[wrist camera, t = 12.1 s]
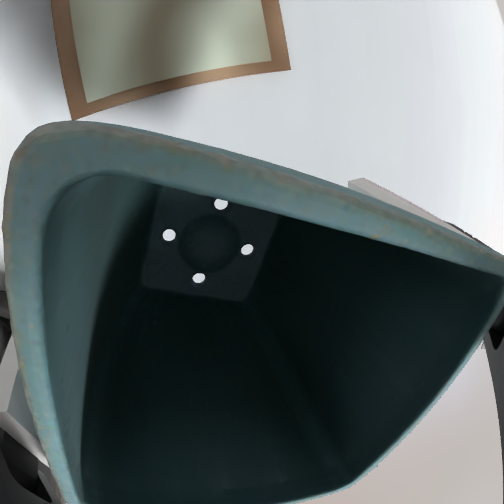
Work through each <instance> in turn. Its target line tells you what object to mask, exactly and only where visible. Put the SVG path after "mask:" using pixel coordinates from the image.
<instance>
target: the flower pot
mask: <svg viewBox="0 0 504 504" xmlns="http://www.w3.org/2000/svg"><path fill="white" fill-rule="evenodd" d="M216 199H221V200H225V201H228V205H227V207H226V208H225V209H222V210H219V209H217V208H215V205H214V202H215V200H216ZM167 229H172V230H173V231H174V232H175V233H176V236H175V239H173V240H172V241H166V240H164V238H163V232H164V231H165V230H167ZM2 232H3V241H4V262H5V287H6V293H7V299H8V306H9V313H10V325H11V330H12V336H13V339H14V344H15V349H16V354H17V360H18V366H19V371H20V374H21V379H22V382H23V386H24V393H25V396H26V400H27V403H28V406H29V409H30V412H31V414H32V417H33V422H34V425H35V428H36V431H37V435H38V437H39V440H40V444H41V447H42V448H43V452H44V454H45V456H46V459H47V462H48V465H49V468H50V470H51V473H52V475H53V477H54V479H55V482H56V484H57V486H58V489H59V492H60V494H61V496H62V498H63V500H64V501H65V502H66V503H67V504H295V503H300V502H304V501H308V500H312V499H316V498H320V497H323V496H326V495H331V494H333V493H336V492H338V491H342V490H344V489H347V488H350V487H351V486H353V485H354V484H356V483H357V482H358V481H359V480H361V479H362V478H363V477H365V475H367V474H368V473H369V472H370V471H371V470H373V469H374V468H375V467H377V466H378V464H379V463H380V462H381V461H383V460H384V459H385V458H386V457H387V456H388V455H389V454H390V453H391V451H393V450H394V449H395V448H396V447H397V446H398V445H399V444H400V442H401V441H402V440H403V439H404V438H405V437H406V436H407V435H408V434H409V433H410V432H411V431H412V430H413V429H414V428H415V427H416V425H418V424H419V422H420V421H421V420H422V419H423V418H424V417H425V416H426V415H427V413H428V412H429V411H430V410H431V409H432V407H433V406H434V405H435V404H436V403H437V402H438V400H439V399H440V398H441V396H442V395H443V394H444V393H445V391H446V390H447V389H448V388H449V386H450V385H451V384H452V382H453V381H454V380H455V378H456V377H457V376H458V374H459V373H460V371H461V370H462V369H463V368H464V366H465V365H466V363H467V362H468V361H469V359H470V358H471V356H472V355H473V353H474V352H475V351H476V349H477V348H478V346H479V345H480V343H481V342H482V340H483V339H484V337H485V335H486V334H487V332H488V331H489V329H490V328H491V326H492V325H493V323H494V322H495V320H496V318H497V316H498V315H499V313H500V312H501V310H502V308H503V307H504V255H502V254H500V253H498V252H496V251H494V250H492V249H490V248H488V247H486V246H484V245H482V244H480V243H478V242H476V241H474V240H472V239H469V238H467V237H465V236H463V235H461V234H459V233H456V232H454V231H452V230H450V229H448V228H445V227H443V226H441V225H439V224H436V223H434V222H432V221H429V220H427V219H425V218H423V217H420V216H418V215H416V214H413V213H411V212H408V211H406V210H404V209H401V208H399V207H396V206H394V205H391V204H388V203H386V202H383V201H381V200H378V199H375V198H373V197H371V196H368V195H365V194H363V193H360V192H357V191H354V190H352V189H349V188H346V187H343V186H341V185H338V184H335V183H332V182H329V181H326V180H323V179H320V178H317V177H314V176H311V175H308V174H305V173H302V172H299V171H296V170H293V169H290V168H286V167H283V166H279V165H276V164H273V163H269V162H266V161H263V160H259V159H256V158H252V157H249V156H245V155H242V154H238V153H234V152H231V151H227V150H224V149H220V148H216V147H212V146H208V145H204V144H200V143H196V142H192V141H188V140H184V139H180V138H176V137H172V136H168V135H164V134H159V133H155V132H151V131H147V130H142V129H137V128H132V127H127V126H121V125H115V124H108V123H100V122H91V121H75V120H72V121H61V122H52V123H48V124H45V125H42V126H39V127H37V128H36V129H34V130H33V131H32V132H31V133H29V134H28V135H27V136H26V137H25V138H24V140H23V141H22V143H21V144H20V145H19V147H18V148H17V149H16V151H15V152H14V154H13V156H12V159H11V161H10V165H9V171H8V177H7V184H6V189H5V195H4V208H3V222H2ZM246 244H251V245H252V246H253V251H252V252H251V253H250V254H248V255H244V254H242V253H241V248H242V247H243V246H244V245H246ZM197 273H202V274H204V275H205V280H204V281H203V282H201V283H195V282H194V281H193V279H192V277H193V276H194V275H195V274H197Z"/></svg>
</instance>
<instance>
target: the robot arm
mask: <svg viewBox="0 0 504 504" xmlns="http://www.w3.org/2000/svg"><path fill="white" fill-rule="evenodd" d="M348 188H349V189H352V190H354V191H357V192H360V193H363V194H365V195H368V196H371V197H373V198H375V199H378V200H381V201H383V202H386V203H388V204H391V205H394V206H396V207H399V208H401V209H404V210H406V211H408V212H411V213H413V214H416V215H418V216H420V217H423V218H425V219H427V220H429V221H432V222H434V223H436V224H439V225H441V226H443V227H445V228H448V229H450V230H452V231H454V232H456V233H459V234H461V235H463V236H465V237H467V238H469V239H472V240H474V241H476V242H478V243H480V244H482V245H484V246H486V247H488V248H490V247H489V246H487V245H485V244H484V243H482V242H481V241H479V240H478V239H476V238H475V237H474V238H473V237H472V236H471V235H470V234H468V233H467V232H465V233H464V231H463V230H462V229H460V228H458V227H457V226H455V225H453V224H451V223H448V222H445V221H443V220H441V219H439V218H438V217H436V216H434V215H432V214H431V213H429V212H427V211H425V210H424V209H422V208H420V207H418V206H417V205H415V204H413V203H411V202H409V201H407V200H406V199H404V198H402V197H400V196H398V195H396V194H394V193H393V192H391V191H389V190H387V189H385V188H383V187H381V186H379V185H377V184H375V183H373V182H371V181H369V180H367V179H365V178H360V179H356V180H351V181H348ZM490 249H492V248H490ZM492 250H493V249H492ZM494 251H495V250H494ZM483 341H484V342H483V344H482V347H481V349H486V353H487V357H488V362H489V366H490V371H491V376H492V381H493V386H494V392H495V397H496V404H497V411H498V418H499V426H500V436H501V447H502V460H503V504H504V307H503V308H502V310H501V312H500V313H499V315H498V316H497V318H496V320H495V322H494V323H493V325H492V326H491V328H490V329H489V331H488V332H487V334H486V335H485V337H484V339H483ZM0 504H66V502H65V501H64V500H63V498H62V496H61V494H60V492H59V489H58V486H57V484H56V482H55V479H54V477H53V475H52V473H51V470H50V468H49V465H48V462H47V459H46V456H45V454H44V452H43V448H42V447H41V444H40V440H39V437H38V435H37V431H36V428H35V425H34V422H33V417H32V414H31V412H30V409H29V406H28V403H27V400H26V396H25V393H24V386H23V382H22V379H21V374H20V371H19V366H18V360H17V354H16V349H15V344H14V339H13V336H12V330H11V325H10V313H9V306H8V299H7V293H6V292H1V291H0Z"/></svg>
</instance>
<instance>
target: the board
mask: <svg viewBox="0 0 504 504" xmlns="http://www.w3.org/2000/svg"><path fill="white" fill-rule="evenodd" d="M51 6H52V15H53V23H54V31H55V38H56V44H57V51H58V56H59V62H60V68H61V73H62V78H63V83H64V88H65V93H66V97H67V102H68V106H69V110H70V114H71V118H72V120H77V119H80V118H82V117H85V116H88V115H91V114H93V113H96V112H99V111H102V110H105V109H108V108H111V107H114V106H117V105H120V104H124V103H127V102H130V101H134V100H137V99H141V98H144V97H148V96H151V95H155V94H159V93H163V92H167V91H171V90H175V89H179V88H183V87H188V86H192V85H197V84H202V83H207V82H212V81H217V80H223V79H228V78H234V77H240V76H247V75H254V74H261V73H269V72H277V71H287V70H291V67H290V61H289V55H288V49H287V43H286V37H285V32H284V26H283V21H282V15H281V10H280V5H279V0H51Z"/></svg>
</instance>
